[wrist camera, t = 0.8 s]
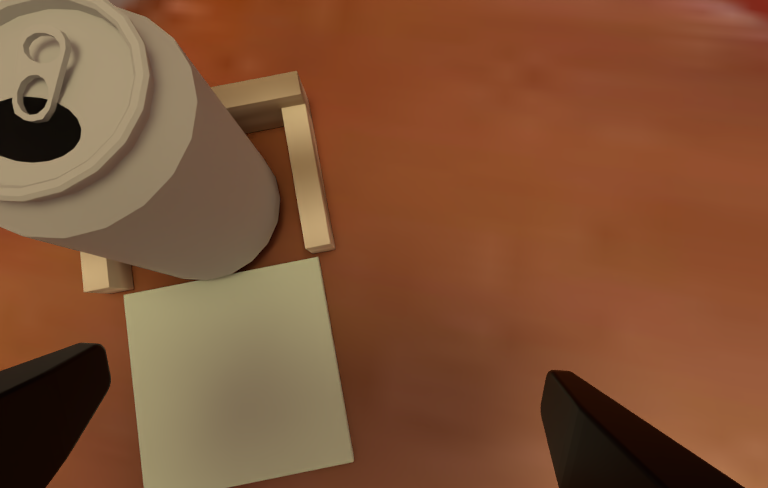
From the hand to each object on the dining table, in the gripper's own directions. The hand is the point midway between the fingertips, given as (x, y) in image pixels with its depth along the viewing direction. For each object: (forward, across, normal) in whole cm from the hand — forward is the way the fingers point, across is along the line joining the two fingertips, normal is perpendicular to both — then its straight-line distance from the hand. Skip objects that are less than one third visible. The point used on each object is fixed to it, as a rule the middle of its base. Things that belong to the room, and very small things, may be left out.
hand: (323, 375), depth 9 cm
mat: (+11, +6, +8) cm, 15 cm away
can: (+15, +8, +1) cm, 17 cm away
